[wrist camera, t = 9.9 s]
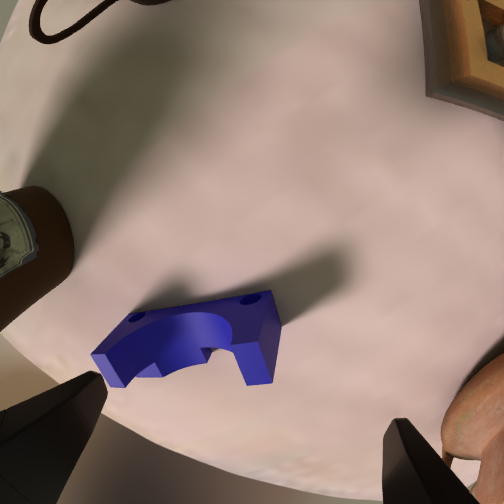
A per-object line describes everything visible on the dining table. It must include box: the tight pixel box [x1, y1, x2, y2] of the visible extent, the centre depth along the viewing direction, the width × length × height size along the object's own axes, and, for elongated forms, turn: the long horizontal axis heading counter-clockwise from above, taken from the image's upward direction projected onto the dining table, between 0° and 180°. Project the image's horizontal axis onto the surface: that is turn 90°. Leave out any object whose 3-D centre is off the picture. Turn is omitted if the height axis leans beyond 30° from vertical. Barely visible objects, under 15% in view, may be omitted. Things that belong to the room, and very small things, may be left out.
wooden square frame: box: [442, 0, 504, 101], centre depth 9 cm, size 7×7×2 cm
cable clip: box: [90, 290, 282, 388], centre depth 20 cm, size 12×4×6 cm, turn 106°
